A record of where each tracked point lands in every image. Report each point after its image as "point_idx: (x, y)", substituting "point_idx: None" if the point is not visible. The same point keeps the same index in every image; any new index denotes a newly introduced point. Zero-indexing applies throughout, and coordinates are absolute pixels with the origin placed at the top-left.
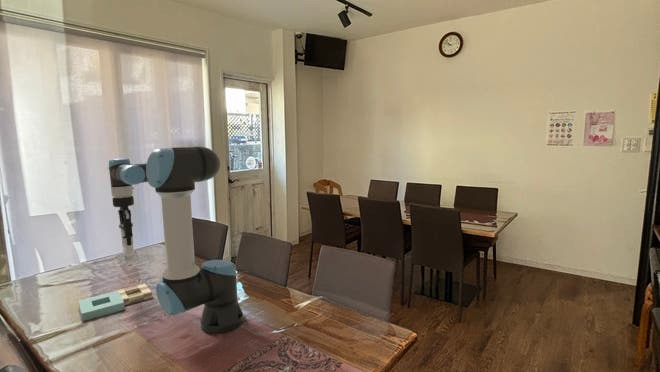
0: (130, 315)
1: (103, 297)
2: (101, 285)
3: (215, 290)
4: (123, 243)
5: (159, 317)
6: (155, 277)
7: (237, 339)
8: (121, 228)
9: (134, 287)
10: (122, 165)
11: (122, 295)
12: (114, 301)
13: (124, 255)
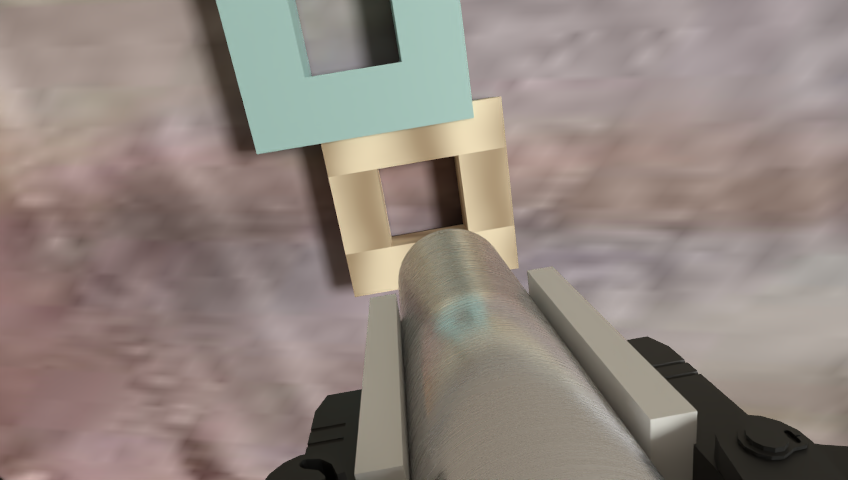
0: (181, 176)
1: (405, 29)
2: (743, 9)
3: None
4: (440, 348)
5: (95, 304)
6: (652, 306)
7: None
8: None
9: (487, 209)
10: None
11: (394, 143)
12: (299, 99)
13: (425, 260)
